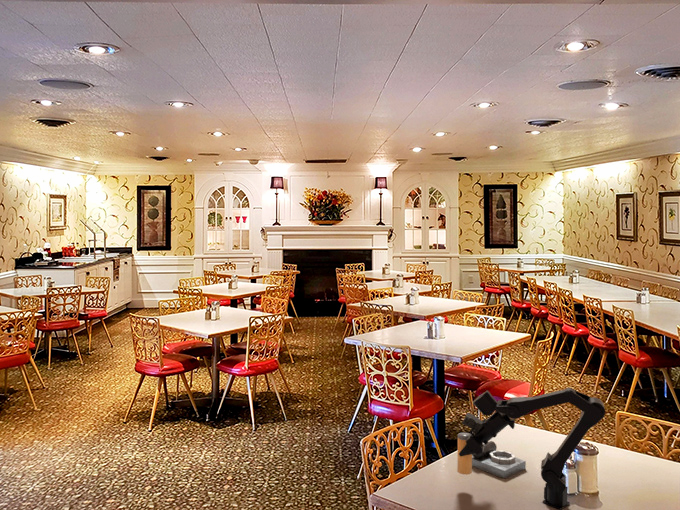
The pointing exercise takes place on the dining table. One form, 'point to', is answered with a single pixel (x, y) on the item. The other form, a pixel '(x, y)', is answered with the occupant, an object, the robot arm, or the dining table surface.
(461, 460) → the lidded container
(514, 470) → the octagonal ring base plate
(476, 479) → the dining table surface
